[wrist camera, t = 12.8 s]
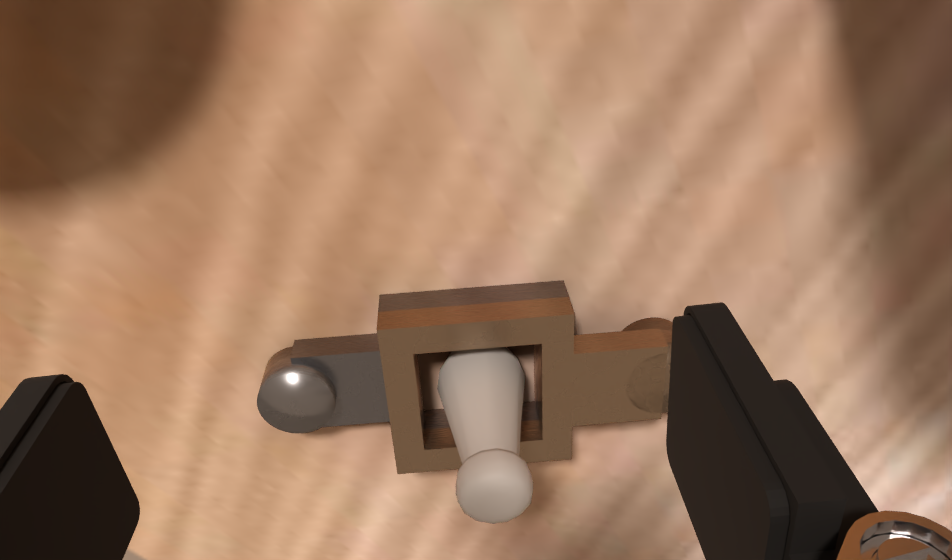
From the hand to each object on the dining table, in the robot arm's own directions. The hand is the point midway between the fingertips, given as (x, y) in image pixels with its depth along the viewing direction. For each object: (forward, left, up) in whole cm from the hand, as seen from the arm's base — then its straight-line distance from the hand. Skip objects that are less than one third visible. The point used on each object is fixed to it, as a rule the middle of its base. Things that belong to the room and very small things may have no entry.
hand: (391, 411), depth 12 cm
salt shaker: (-3, +23, -32) cm, 40 cm away
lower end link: (+2, +23, -32) cm, 40 cm away
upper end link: (-7, +23, -32) cm, 40 cm away
